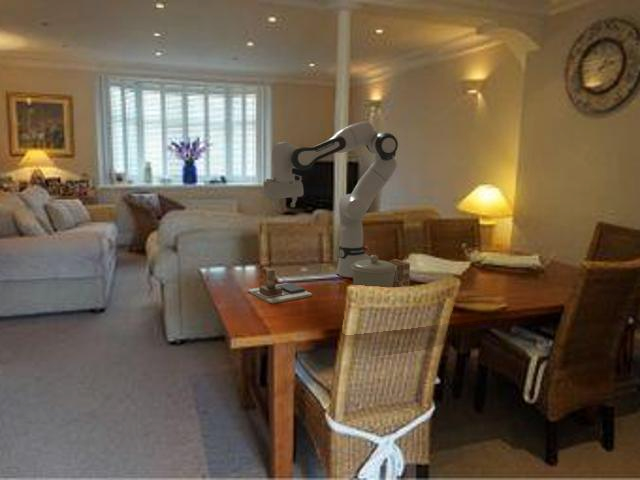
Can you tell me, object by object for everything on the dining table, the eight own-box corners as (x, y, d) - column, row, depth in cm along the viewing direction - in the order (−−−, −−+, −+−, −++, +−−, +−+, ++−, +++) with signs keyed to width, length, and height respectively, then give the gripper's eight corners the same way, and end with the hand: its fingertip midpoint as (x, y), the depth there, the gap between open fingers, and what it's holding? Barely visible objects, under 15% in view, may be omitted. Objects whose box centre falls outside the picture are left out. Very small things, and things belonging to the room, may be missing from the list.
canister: (345, 311, 204) (346, 258, 200) (354, 298, 221) (356, 249, 218) (391, 316, 200) (394, 261, 196) (397, 302, 217) (400, 252, 213)
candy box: (409, 298, 223) (410, 262, 220) (401, 299, 221) (403, 263, 218) (395, 292, 230) (396, 258, 227) (387, 294, 228) (389, 259, 225)
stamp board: (286, 285, 240) (286, 280, 239) (311, 295, 224) (312, 290, 223) (247, 291, 228) (247, 286, 228) (270, 303, 212) (270, 298, 212)
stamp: (273, 289, 228) (273, 267, 226) (282, 293, 223) (282, 270, 221) (259, 292, 224) (259, 269, 222) (267, 296, 219) (267, 273, 217)
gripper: (267, 179, 235) (268, 210, 236) (304, 176, 247) (306, 206, 249) (259, 179, 240) (261, 209, 241) (296, 176, 252) (298, 205, 254)
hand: (284, 207), depth 245 cm, fingers open, 8 cm apart
